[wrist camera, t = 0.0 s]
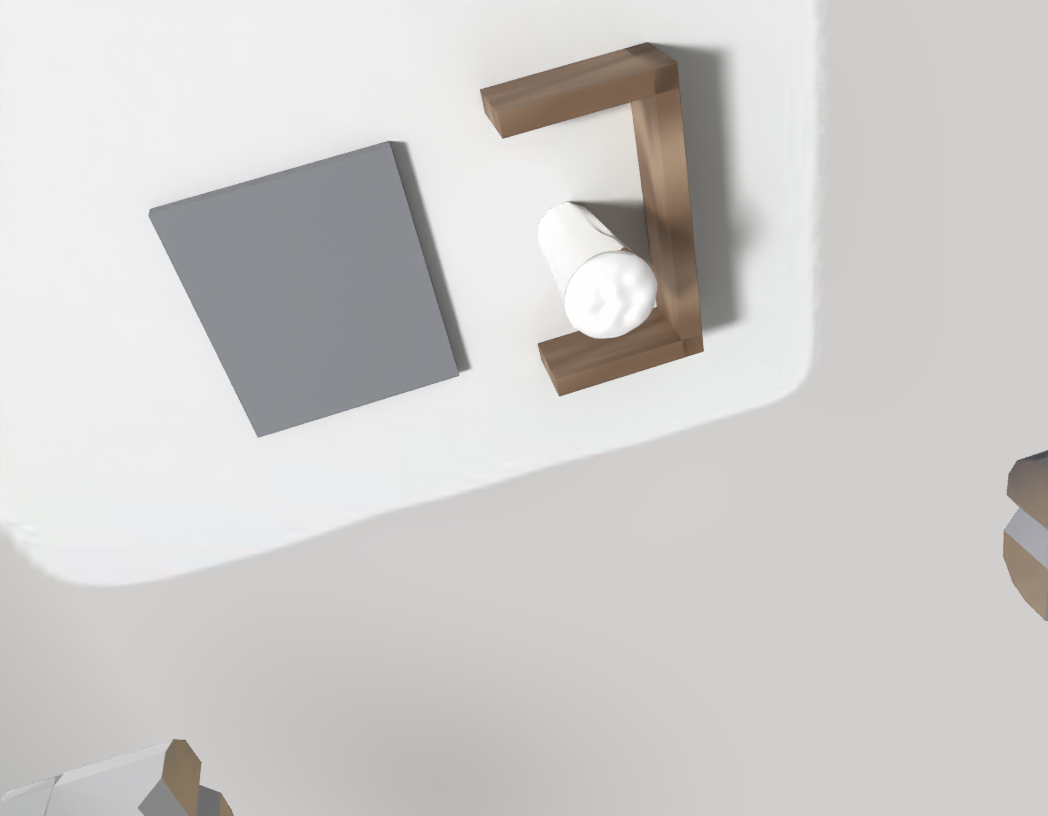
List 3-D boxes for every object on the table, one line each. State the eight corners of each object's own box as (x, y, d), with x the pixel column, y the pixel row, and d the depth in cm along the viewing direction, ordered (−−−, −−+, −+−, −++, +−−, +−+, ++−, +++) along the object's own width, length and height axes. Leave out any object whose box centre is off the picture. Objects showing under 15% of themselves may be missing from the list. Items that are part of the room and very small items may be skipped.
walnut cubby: (479, 89, 44) (497, 113, 41) (646, 42, 45) (676, 62, 41) (541, 360, 54) (559, 396, 50) (677, 318, 54) (703, 351, 51)
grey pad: (150, 209, 43) (148, 215, 43) (388, 140, 44) (390, 146, 44) (258, 429, 52) (258, 437, 51) (456, 368, 53) (459, 375, 52)
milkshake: (610, 173, 48) (680, 251, 40) (600, 265, 51) (663, 354, 43) (528, 176, 47) (582, 256, 39) (523, 270, 50) (573, 362, 42)
